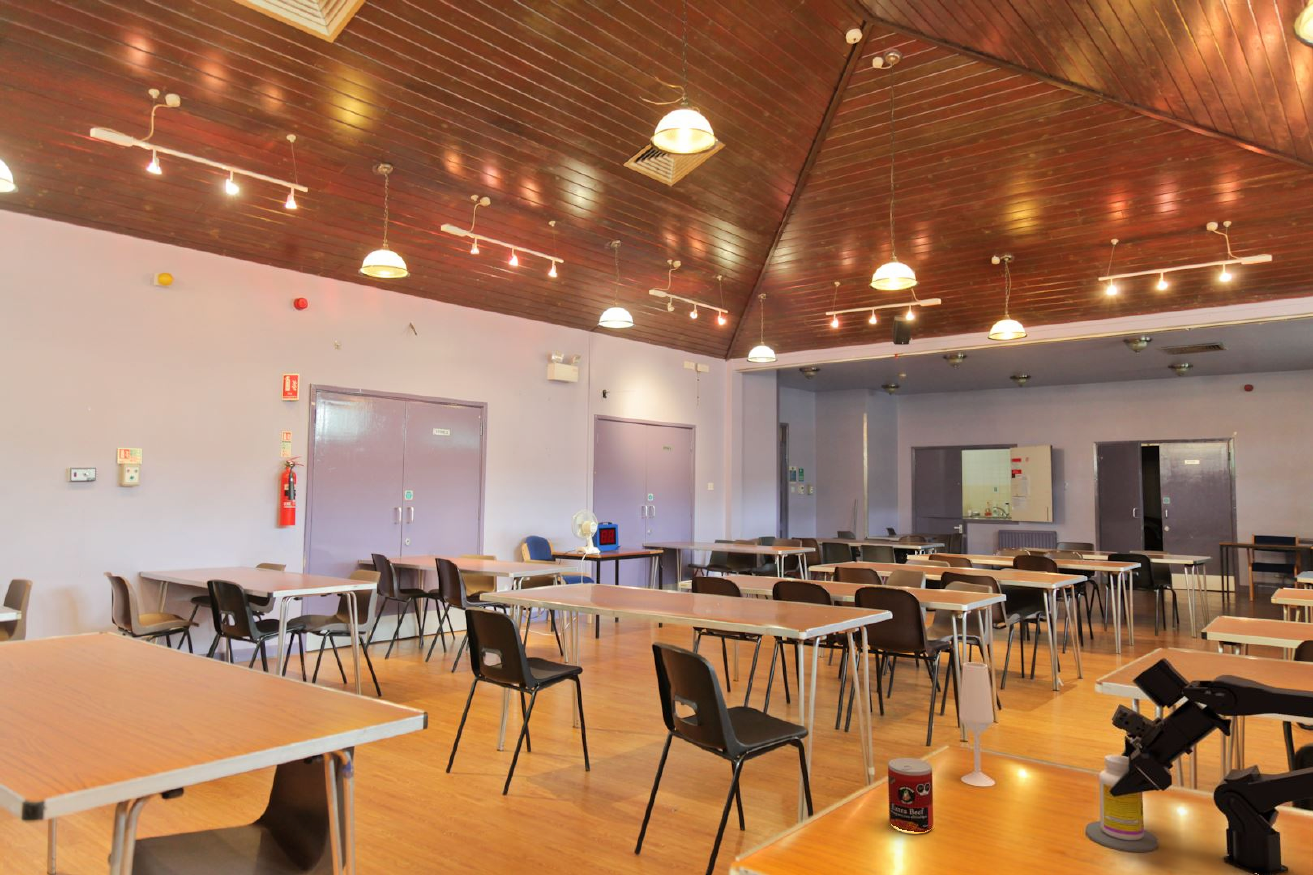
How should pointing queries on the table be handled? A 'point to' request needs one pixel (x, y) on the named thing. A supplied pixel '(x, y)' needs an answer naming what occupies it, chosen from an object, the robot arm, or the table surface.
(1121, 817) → the supplement bottle
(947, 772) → the table surface
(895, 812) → the canned food
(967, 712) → the champagne flute
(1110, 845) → the slate coaster
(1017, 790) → the table surface
